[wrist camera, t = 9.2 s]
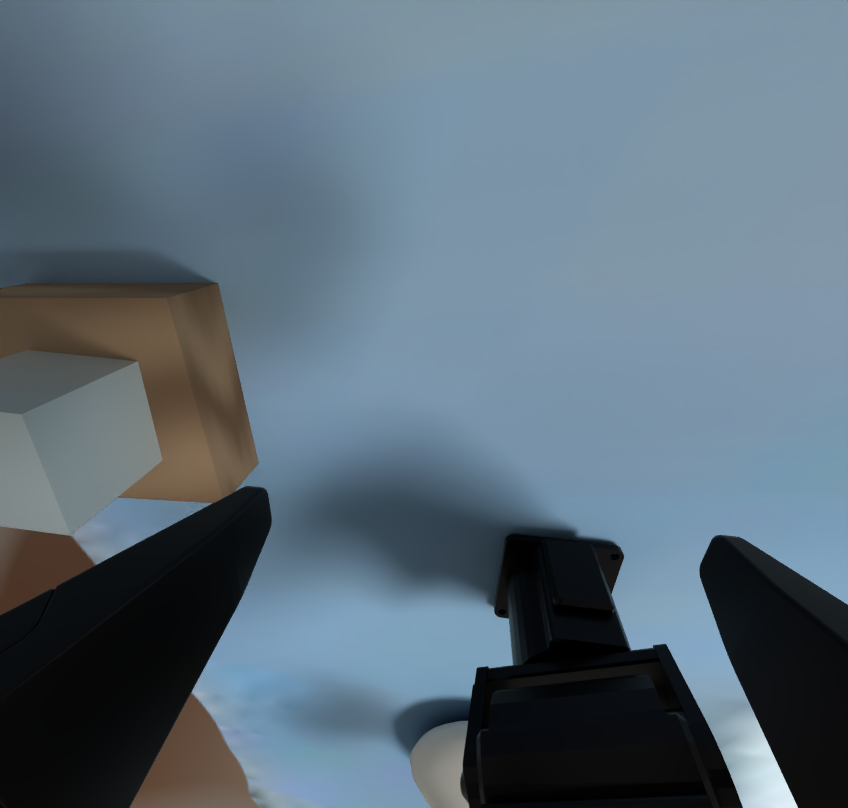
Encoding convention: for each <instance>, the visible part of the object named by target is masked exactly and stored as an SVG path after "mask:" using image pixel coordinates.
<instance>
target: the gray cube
mask: <svg viewBox="0 0 848 808" xmlns="http://www.w3.org/2000/svg"><path fill="white" fill-rule="evenodd" d="M161 461H163V460H162V456H161V452H160V448H159V444H158V440H157V436H156V432H155V428H154V424H153V420H152V415H151V412H150V408H149V404H148V400H147V396H146V392H145V388H144V384H143V380H142V376H141V372H140V368H139V364H138V361H131V360H121V359H111V358H102V357H92V356H82V355H73V354H63V353H53V352H44V351H34V350H26V351H23V352H19V353H16V354H13V355H10V356H7V357H4V358H1V359H0V526H3V527H11V528H18V529H26V530H33V531H40V532H48V533H56V534H63V535H72V534H73V533H74V532H76V531H77V530H78V529H79V528H80V527H82V526H83V525H84V524H85V523H87V522H88V521H89V520H90V519H91V518H93V517H94V516H95V515H96V514H98V513H99V512H100V511H101V510H102V509H104V508H105V507H106V506H107V505H109V504H110V503H111V502H112V501H114V500H115V499H116V498H117V497H118V496H120V495H121V494H122V493H123V492H125V491H126V490H127V489H128V488H129V487H131V486H132V485H133V484H134V483H136V482H137V481H138V480H139V479H140V478H142V477H143V476H144V475H145V474H147V473H148V472H149V471H150V470H152V469H153V468H154V467H155V466H156V465H158V464H159V463H160V462H161Z"/></svg>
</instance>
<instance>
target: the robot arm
mask: <svg viewBox="0 0 848 808" xmlns="http://www.w3.org/2000/svg"><path fill="white" fill-rule="evenodd" d="M271 522H272V517H271V510H270V504H269V497H268V493H267V490H266V489H265V488H262V487H253V486H246V487H243V488H241V489H239V490H237V491H236V492H234V493H232V494H230V495H228V496H226V497H224V498H222V499H220V500H219V501H217V502H215V503H213V504H211V505H209V506H207V507H205V508H203V509H201V510H200V511H198V512H196V513H194V514H192V515H190V516H188V517H186V518H184V519H183V520H181V521H179V522H177V523H175V524H173V525H171V526H169V527H167V528H166V529H164V530H162V531H160V532H158V533H156V534H154V535H152V536H150V537H148V538H147V539H145V540H143V541H141V542H139V543H137V544H135V545H133V546H131V547H129V548H128V549H126V550H124V551H122V552H120V553H118V554H116V555H114V556H112V557H111V558H109V559H107V560H105V561H103V562H101V563H99V564H97V565H95V566H94V567H92V568H90V569H88V570H86V571H84V572H82V573H80V574H78V575H76V576H75V577H73V578H71V579H69V580H67V581H65V582H63V583H61V584H59V585H58V586H57V587H56V589H50V590H48V591H46V592H44V593H42V594H40V595H38V596H37V597H35V598H33V599H31V600H29V601H27V602H25V603H23V604H21V605H19V606H17V607H15V608H13V609H12V610H10V611H8V612H6V613H4V614H2V615H0V808H130V806H131V804H132V802H133V800H134V798H135V797H136V795H137V793H138V791H139V789H140V787H141V785H142V783H143V782H144V780H145V778H146V776H147V774H148V772H149V770H150V768H151V767H152V765H153V763H154V761H155V759H156V757H157V755H158V754H159V752H160V750H161V748H162V746H163V744H164V742H165V740H166V739H167V737H168V735H169V733H170V731H171V729H172V727H173V726H174V724H175V722H176V720H177V718H178V716H179V714H180V712H181V711H182V709H183V707H184V705H185V703H186V701H187V699H188V697H189V696H190V694H191V692H192V690H193V688H194V686H195V684H196V683H197V681H198V679H199V677H200V675H201V673H202V671H203V670H204V668H205V666H206V664H207V662H208V660H209V658H210V656H211V655H212V653H213V651H214V649H215V647H216V645H217V643H218V642H219V640H220V638H221V636H222V634H223V632H224V630H225V628H226V627H227V625H228V623H229V621H230V619H231V617H232V615H233V614H234V612H235V610H236V608H237V606H238V604H239V602H240V600H241V598H242V596H243V594H244V591H245V589H246V587H247V585H248V582H249V580H250V577H251V575H252V572H253V570H254V567H255V565H256V562H257V560H258V558H259V555H260V553H261V550H262V548H263V545H264V543H265V540H266V538H267V536H268V533H269V531H270V528H271ZM512 543H517V544H512ZM611 554H614V555H611ZM623 559H624V555H623V552H622V550H621V548H620V547H619V546H616V545H610V544H601V543H591V542H582V541H573V540H563V539H554V538H545V537H535V536H526V535H517V534H512V535H509V536H507V537H506V539H505V544H504V550H503V556H502V562H501V567H500V573H499V579H498V585H497V591H496V597H495V603H494V612H495V614H496V615H497V616H498V617H502V618H509V624H510V636H511V647H512V658H513V665H512V666H504V667H496V668H489V667H488V666H487V667H479V668H477V670H476V678H475V685H473V689H472V697H471V704H470V711H469V719H468V726H467V734H466V741H465V748H464V756H463V771H462V774H461V778H460V788H461V793H462V796H463V797H464V798H465V800H466V801H467V802H468V804H469V808H743V807H742V804H741V801H740V799H739V796H738V793H737V791H736V788H735V785H734V783H733V780H732V778H731V775H730V773H729V770H728V768H727V766H726V763H725V761H724V759H723V756H722V754H721V752H720V749H719V747H718V745H717V743H716V740H715V738H714V736H713V734H712V732H711V730H710V728H709V726H708V724H707V722H706V720H705V718H704V716H703V714H702V712H701V710H700V708H699V707H698V705H697V703H696V701H695V699H694V697H693V695H692V693H691V691H690V689H689V687H688V685H687V683H686V682H685V680H684V678H683V676H682V674H681V672H680V670H679V668H678V666H677V664H676V662H675V660H674V659H673V657H672V655H671V653H670V651H669V649H668V647H667V645H666V644H660V645H653V648H648V649H640V650H632V651H631V648H630V646H629V643H628V640H627V637H626V634H625V632H624V629H623V626H622V623H621V620H620V618H619V615H618V612H617V609H616V607H615V604H614V601H613V598H612V595H611V594H612V591H613V588H614V585H615V582H616V579H617V576H618V573H619V570H620V567H621V564H622V562H623ZM699 570H700V578H701V581H702V584H703V587H704V590H705V593H706V595H707V598H708V601H709V604H710V607H711V610H712V612H713V615H714V618H715V621H716V624H717V627H718V629H719V632H720V635H721V638H722V641H723V644H724V646H725V649H726V651H727V654H728V656H729V659H730V661H731V664H732V666H733V668H734V670H735V673H736V675H737V677H738V679H739V681H740V683H741V686H742V688H743V690H744V692H745V694H746V696H747V699H748V701H749V703H750V705H751V707H752V709H753V711H754V714H755V716H756V718H757V720H758V722H759V724H760V727H761V729H762V731H763V733H764V735H765V737H766V739H767V742H768V744H769V746H770V748H771V750H772V752H773V754H774V757H775V759H776V761H777V763H778V765H779V767H780V770H781V772H782V774H783V776H784V778H785V780H786V782H787V785H788V787H789V789H790V791H791V793H792V795H793V798H794V800H795V802H796V804H797V806H798V808H848V605H847V604H846V603H844V602H842V601H841V600H839V599H838V598H836V597H835V596H833V595H831V594H830V593H828V592H827V591H825V590H823V589H822V588H820V587H819V586H817V585H816V584H814V583H812V582H811V581H809V580H808V579H806V578H804V577H803V576H801V575H800V574H798V573H797V572H795V571H793V570H792V569H790V568H789V567H787V566H785V565H784V564H782V563H781V562H779V561H777V560H776V559H774V558H773V557H771V556H770V555H768V554H766V553H765V552H763V551H762V550H760V549H758V548H757V547H755V546H754V545H752V544H751V543H749V542H747V541H746V540H744V539H742V538H740V537H735V536H726V535H717V536H715V537H714V538H713V539H712V540H711V542H710V544H709V547H708V549H707V551H706V553H705V555H704V558H703V560H702V562H701V564H700V569H699Z"/></svg>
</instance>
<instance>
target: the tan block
mask: <svg viewBox="0 0 848 808" xmlns="http://www.w3.org/2000/svg"><path fill="white" fill-rule="evenodd" d="M26 350H34V351H44V352H53V353H63V354H73V355H82V356H92V357H102V358H111V359H121V360H131V361H138V364H139V368H140V372H141V376H142V380H143V384H144V388H145V392H146V396H147V400H148V404H149V408H150V412H151V415H152V420H153V424H154V428H155V432H156V436H157V440H158V444H159V448H160V452H161V456H162V460H163V461H161V462H160V463H159V464H158V465H156V466H155V467H154V468H153V469H152V470H150V471H149V472H148V473H147V474H145V475H144V476H143V477H142V478H140V479H139V480H138V481H137V482H136V483H134V484H133V485H132V486H131V487H129V488H128V489H127V490H126V491H125V492H123V493H122V494H121V495H120V496H118V497H120V498H137V499H154V500H172V501H189V502H206V503H215V502H217V501H219V500H220V499H222V498H224V497H226V496H228V495H230V494H232V493H234V492H235V490H236V489H237V488H238V487H239V486H240V485H241V483H242V482H243V481H244V480H245V479H246V477H247V476H248V475H249V474H250V473H251V472H252V470H253V469H254V468H255V467H256V466H257V464H258V458H257V454H256V449H255V445H254V441H253V436H252V432H251V427H250V423H249V419H248V414H247V410H246V405H245V401H244V396H243V392H242V388H241V383H240V379H239V374H238V370H237V366H236V361H235V357H234V352H233V348H232V343H231V339H230V335H229V330H228V326H227V321H226V317H225V313H224V308H223V304H222V299H221V295H220V290H219V286H218V284H23V285H17V286H11V287H5V288H0V359H1V358H4V357H7V356H10V355H13V354H16V353H19V352H23V351H26Z"/></svg>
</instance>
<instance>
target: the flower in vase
mask: <svg viewBox="0 0 848 808" xmlns="http://www.w3.org/2000/svg"><path fill="white" fill-rule="evenodd" d="M467 726H468V721H458V722H452V723H447V724H443V725H440V726H437V727H435V728H433V729H431V730H429V731H428V732H426V733H425V734H424V735H423V736H422V737H421V738H420V739H419V741H418V742H417V744H416V745H415V746H414V748H413V749H412V752H411V755H410V764H411V770H412V775H413V779H414V781H415V783H416V785H417V787H418V788H419V790H420V792H421V793H422V795H423V797H424V799H425V800H426V801H427V803H428V804H429V805H430V807H431V808H469V804H468V802H467V801H466V800H465V798H464V797H463V796H462V793H461V788H460V778H461V774H462V771H463V756H464V748H465V741H466V734H467Z"/></svg>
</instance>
